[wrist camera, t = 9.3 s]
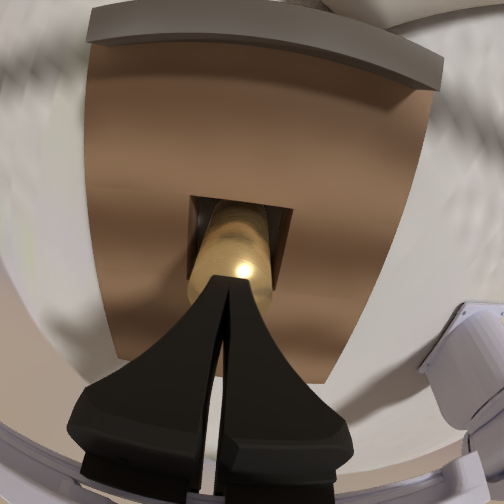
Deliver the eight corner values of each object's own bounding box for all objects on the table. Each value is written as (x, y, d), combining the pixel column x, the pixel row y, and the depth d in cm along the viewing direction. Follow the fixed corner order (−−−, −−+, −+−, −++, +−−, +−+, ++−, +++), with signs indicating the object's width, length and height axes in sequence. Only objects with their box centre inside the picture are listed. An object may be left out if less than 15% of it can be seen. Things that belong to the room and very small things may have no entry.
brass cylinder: (261, 247, 18) (263, 330, 12) (209, 238, 17) (186, 319, 11) (272, 198, 16) (281, 267, 10) (215, 189, 16) (189, 252, 10)
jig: (319, 355, 23) (327, 404, 18) (129, 331, 22) (110, 377, 18) (408, 70, 12) (461, 67, 7) (121, 29, 11) (72, 13, 6)
